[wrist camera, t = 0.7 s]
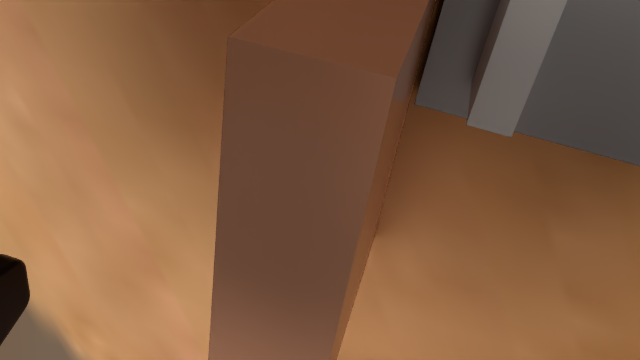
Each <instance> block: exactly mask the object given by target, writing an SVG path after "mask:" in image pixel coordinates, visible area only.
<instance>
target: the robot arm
mask: <svg viewBox="0 0 640 360" xmlns="http://www.w3.org/2000/svg"><path fill="white" fill-rule="evenodd" d="M29 298H30V290H29V284H28V278H27V271H26V266H25V264H24V262H23V261H22V260H19V259H17V258H14V257H11V256H8V255H4V254H0V345H1V344H2V342H3V341H4V339H5V338H6V337H7V335H8V334H9V332H10V331H11V329H12V328H13V326H14V325H15V323H16V322H17V320H18V319H19V317H20V316H21V314H22V313H23V311H24V310H25V308H26V307H27V304H28V302H29Z"/></svg>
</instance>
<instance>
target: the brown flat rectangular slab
mask: <svg viewBox="0 0 640 360" xmlns="http://www.w3.org/2000/svg"><path fill="white" fill-rule="evenodd" d="M434 3H435V0H273V1H272V2H271V3H269V4H268V5H267V6H266V7H264V8H263V9H262V10H261V11H259V12H258V13H257V14H256V15H254V16H253V17H252V18H251V19H249V20H248V21H247V22H246V23H244V24H243V25H242V26H241V27H239V28H238V29H237V30H236V31H234V32H233V33H232V34H231V35H229V36H228V42H227V59H226V75H225V92H224V109H223V125H222V142H221V159H220V175H219V192H218V208H217V225H216V242H215V258H214V275H213V292H212V308H211V325H210V341H209V358H208V360H336V359H337V356H338V353H339V350H340V347H341V343H342V340H343V337H344V334H345V331H346V327H347V324H348V321H349V318H350V314H351V311H352V308H353V305H354V302H355V298H356V295H357V292H358V289H359V286H360V282H361V279H362V276H363V273H364V270H365V266H366V263H367V260H368V257H369V253H370V250H371V247H372V244H373V241H374V237H375V234H376V230H377V226H378V222H379V218H380V214H381V210H382V206H383V202H384V198H385V195H386V191H387V187H388V183H389V179H390V175H391V171H392V167H393V163H394V159H395V156H396V152H397V148H398V144H399V140H400V136H401V132H402V128H403V124H404V120H405V117H406V113H407V109H408V105H409V101H410V97H411V93H412V89H413V85H414V81H415V78H416V74H417V70H418V66H419V62H420V58H421V54H422V50H423V46H424V42H425V39H426V35H427V31H428V27H429V23H430V19H431V15H432V11H433V7H434Z"/></svg>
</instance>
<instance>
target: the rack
mask: <svg viewBox="0 0 640 360" xmlns="http://www.w3.org/2000/svg"><path fill="white" fill-rule="evenodd" d="M414 104H415V105H419V106H422V107H426V108H430V109H433V110H437V111H441V112H444V113H448V114H452V115H455V116H459V117H462V118H466V119H467V123H466V125H468V126H472V127H475V128H479V129H483V130H486V131H490V132H493V133H497V134H501V135H504V136H508V137H512V135H513V132H517V133H521V134H524V135H528V136H532V137H535V138H539V139H543V140H546V141H550V142H554V143H557V144H561V145H564V146H568V147H572V148H575V149H579V150H583V151H586V152H590V153H594V154H597V155H601V156H605V157H608V158H612V159H615V160H619V161H623V162H626V163H630V164H634V165H637V166H640V0H444V3H443V7H442V10H441V14H440V17H439V21H438V24H437V28H436V31H435V34H434V38H433V41H432V45H431V48H430V52H429V55H428V59H427V62H426V65H425V69H424V72H423V76H422V79H421V83H420V86H419V90H418V93H417V97H416V100H415V103H414Z"/></svg>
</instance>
